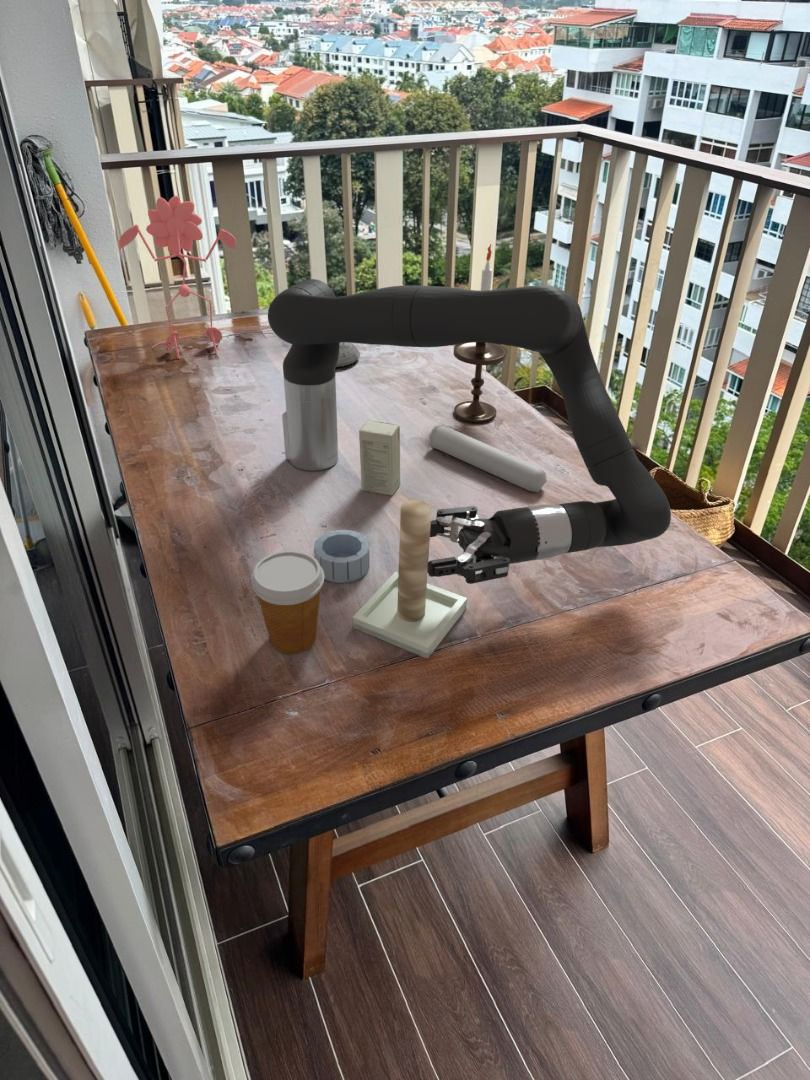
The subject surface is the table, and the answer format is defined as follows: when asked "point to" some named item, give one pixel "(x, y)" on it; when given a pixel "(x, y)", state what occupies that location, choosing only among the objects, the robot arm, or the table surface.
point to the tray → (411, 636)
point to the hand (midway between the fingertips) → (419, 550)
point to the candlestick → (479, 366)
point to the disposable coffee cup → (289, 598)
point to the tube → (487, 458)
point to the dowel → (413, 559)
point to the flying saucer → (347, 354)
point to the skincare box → (380, 457)
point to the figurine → (178, 248)
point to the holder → (343, 555)
